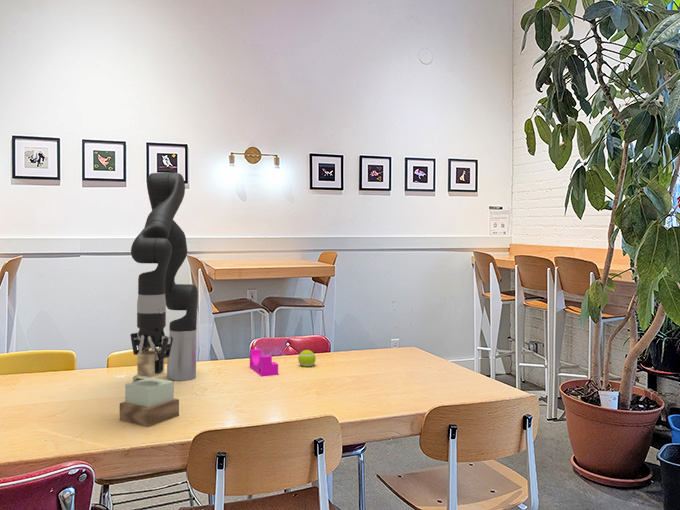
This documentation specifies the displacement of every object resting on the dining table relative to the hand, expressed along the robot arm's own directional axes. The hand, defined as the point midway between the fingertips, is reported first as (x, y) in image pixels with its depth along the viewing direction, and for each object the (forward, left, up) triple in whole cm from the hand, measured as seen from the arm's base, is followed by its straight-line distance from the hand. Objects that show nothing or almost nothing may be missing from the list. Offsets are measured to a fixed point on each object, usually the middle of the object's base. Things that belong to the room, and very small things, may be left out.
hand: (151, 371), depth 158 cm
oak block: (0, 0, -1) cm, 1 cm away
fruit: (-16, +13, -13) cm, 24 cm away
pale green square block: (-1, 0, -8) cm, 8 cm away
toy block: (-5, +60, -13) cm, 61 cm away
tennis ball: (+5, +75, -13) cm, 76 cm away
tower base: (0, 0, -13) cm, 13 cm away
